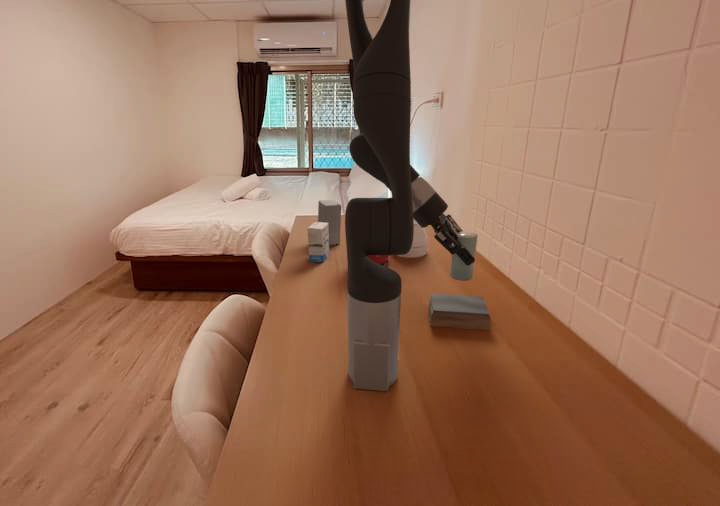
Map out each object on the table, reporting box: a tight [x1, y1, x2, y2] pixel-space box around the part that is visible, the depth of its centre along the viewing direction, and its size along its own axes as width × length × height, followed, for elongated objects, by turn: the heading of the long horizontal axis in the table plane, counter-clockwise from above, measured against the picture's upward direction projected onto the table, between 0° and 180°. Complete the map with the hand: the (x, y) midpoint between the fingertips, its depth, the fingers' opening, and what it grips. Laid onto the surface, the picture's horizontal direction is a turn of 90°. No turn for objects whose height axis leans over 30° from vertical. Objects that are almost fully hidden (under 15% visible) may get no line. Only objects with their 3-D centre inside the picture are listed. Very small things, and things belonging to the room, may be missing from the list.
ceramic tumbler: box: [449, 230, 478, 282], centre depth 83 cm, size 5×5×10 cm
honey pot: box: [395, 218, 428, 259], centre depth 130 cm, size 13×13×18 cm
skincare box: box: [317, 199, 342, 247], centre depth 139 cm, size 8×7×16 cm
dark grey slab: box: [428, 293, 492, 331], centre depth 88 cm, size 9×13×4 cm
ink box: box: [307, 221, 330, 264], centre depth 124 cm, size 9×5×12 cm, turn 168°
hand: (471, 258), depth 83 cm, fingers closed on ceramic tumbler, 5 cm apart
